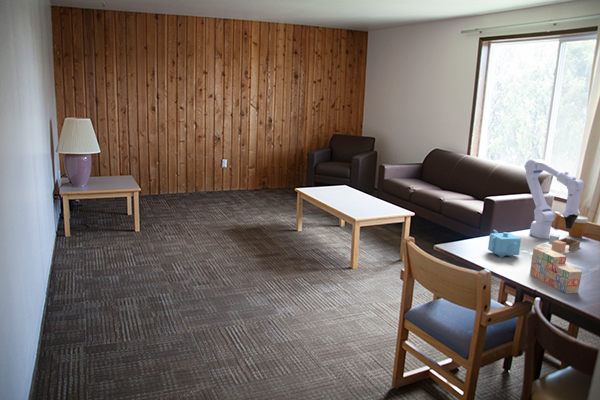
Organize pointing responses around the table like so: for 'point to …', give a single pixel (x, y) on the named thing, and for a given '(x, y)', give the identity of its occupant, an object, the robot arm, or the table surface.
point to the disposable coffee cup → (578, 227)
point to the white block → (553, 238)
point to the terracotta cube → (558, 246)
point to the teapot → (504, 244)
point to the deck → (555, 251)
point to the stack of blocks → (555, 270)
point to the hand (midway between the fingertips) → (568, 228)
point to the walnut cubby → (571, 243)
